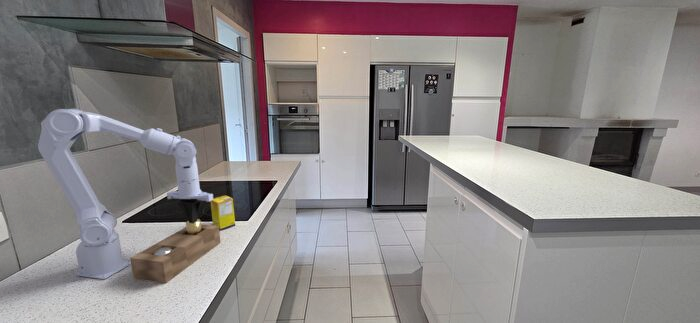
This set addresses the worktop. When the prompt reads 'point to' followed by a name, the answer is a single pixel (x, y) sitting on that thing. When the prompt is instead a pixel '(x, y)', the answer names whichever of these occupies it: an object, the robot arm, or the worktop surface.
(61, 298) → the worktop surface
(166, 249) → the steel peg
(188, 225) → the brass peg
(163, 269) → the walnut peg board
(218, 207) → the supplement box
